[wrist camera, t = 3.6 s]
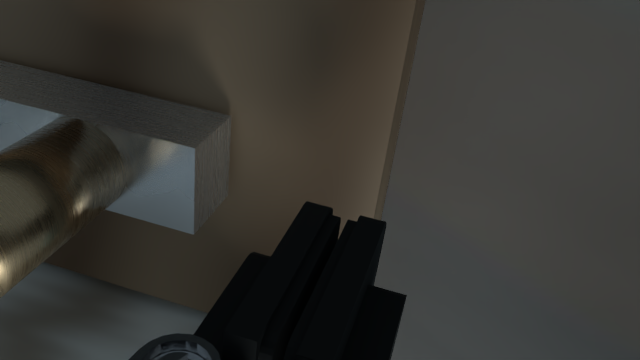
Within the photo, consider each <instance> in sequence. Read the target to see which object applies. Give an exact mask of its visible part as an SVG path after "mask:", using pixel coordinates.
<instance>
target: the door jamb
mask: <svg viewBox="0 0 640 360" xmlns="http://www.w3.org/2000/svg"><path fill="white" fill-rule="evenodd" d="M424 4H425V0H0V60H1V61H5V62H10V63H14V64H18V65H22V66H26V67H30V68H35V69H39V70H43V71H47V72H51V73H55V74H59V75H64V76H68V77H72V78H76V79H80V80H84V81H89V82H93V83H97V84H101V85H105V86H109V87H114V88H118V89H122V90H126V91H130V92H134V93H139V94H143V95H147V96H151V97H155V98H159V99H163V100H168V101H172V102H176V103H180V104H184V105H188V106H193V107H197V108H201V109H205V110H209V111H213V112H218V113H222V114H226V115H230V116H231V136H230V158H229V179H228V196H227V197H226V198H225V200H224V201H223V202H222V203H221V204H220V205H219V206H218V208H217V209H216V210H215V211H214V212H213V213H212V214H211V216H210V217H209V218H208V219H207V220H206V221H205V222H204V224H203V225H202V226H201V227H200V228H199V229H198V231H197V232H196V233H195V234H194V235H193V234H189V233H186V232H182V231H179V230H175V229H172V228H168V227H165V226H161V225H158V224H154V223H151V222H147V221H144V220H140V219H137V218H133V217H130V216H126V215H123V214H119V213H116V212H112V211H109V210H104V211H103V212H102V213H100V214H99V215H98V216H97V217H96V218H95V219H93V220H92V221H91V222H90V223H89V224H87V225H86V226H85V227H84V228H83V229H82V230H80V231H79V232H78V233H77V234H76V235H74V236H73V237H72V238H71V239H70V240H69V241H67V242H66V243H65V244H64V245H63V246H61V247H60V248H59V249H58V250H57V251H56V252H54V253H53V254H52V255H51V256H50V257H48V258H47V259H46V260H45V261H44V262H43V263H41V264H40V265H39V266H38V267H37V268H35V269H34V270H33V271H32V272H31V273H30V274H28V275H27V276H26V277H25V278H24V279H23V280H21V281H20V282H19V283H18V284H17V285H15V286H14V287H13V288H12V289H11V290H10V291H8V292H7V293H6V294H5V295H4V296H2V297H1V298H0V360H129V359H130V358H131V357H132V356H133V355H134V354H135V353H136V352H137V351H138V350H139V349H140V348H141V347H143V346H144V345H145V344H147V343H148V342H149V341H151V340H153V339H156V338H158V337H161V336H163V335H169V334H176V333H180V334H192V335H193V334H194V333H195V331H196V330H197V329H198V327H199V326H200V324H201V323H202V321H203V320H204V318H205V317H206V316H207V314H208V313H209V311H210V310H211V308H212V307H213V305H214V304H215V303H216V301H217V300H218V298H219V297H220V295H221V294H222V292H223V291H224V289H225V288H226V287H227V285H228V284H229V282H230V281H231V279H232V278H233V276H234V275H235V274H236V272H237V271H238V269H239V268H240V266H241V265H242V263H243V262H244V261H245V259H246V258H247V256H248V255H249V254H250V253H252V252H257V253H260V254H264V255H267V256H271V255H272V254H273V252H274V251H275V249H276V247H277V246H278V244H279V243H280V241H281V240H282V238H283V236H284V235H285V233H286V232H287V230H288V228H289V227H290V225H291V224H292V222H293V221H294V219H295V217H296V216H297V214H298V213H299V211H300V210H301V208H302V206H303V205H304V203H305V202H306V201H309V202H312V203H316V204H320V205H324V206H328V207H331V208H333V215H334V216H338V217H340V218H341V223H340V229H339V236H338V239H339V237H340V235H341V232H342V230H343V228H344V226H345V224H346V222H347V220H348V219H349V220H353V221H357V220H358V218H359V216H360V215H362V216H365V217H369V218H373V219H377V220H381V217H382V212H383V207H384V202H385V197H386V192H387V187H388V182H389V177H390V172H391V167H392V162H393V157H394V152H395V147H396V143H397V138H398V133H399V128H400V123H401V118H402V113H403V108H404V103H405V98H406V93H407V88H408V83H409V78H410V73H411V69H412V64H413V59H414V54H415V49H416V44H417V39H418V34H419V29H420V24H421V19H422V14H423V9H424Z"/></svg>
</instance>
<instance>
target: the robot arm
mask: <svg viewBox="0 0 640 360" xmlns="http://www.w3.org/2000/svg"><path fill="white" fill-rule="evenodd" d="M340 223H341V218H340V217H338V216H334V215H333V208H331V207H328V206H324V205H320V204H316V203H312V202H309V201H306V202H305V203H304V205H303V206H302V208H301V210H300V211H299V213H298V214H297V216H296V217H295V219H294V221H293V222H292V224H291V225H290V227H289V228H288V230H287V232H286V233H285V235H284V236H283V238H282V240H281V241H280V243H279V244H278V246H277V247H276V249H275V251H274V252H273V254H272V255H271V256H267V255H264V254H260V253H257V252H252V253H250V254H249V255H248V256H247V258H246V259H245V261H244V262H243V263H242V265H241V266H240V268H239V269H238V271H237V272H236V274H235V275H234V276H233V278H232V279H231V281H230V282H229V284H228V285H227V287H226V288H225V289H224V291H223V292H222V294H221V295H220V297H219V298H218V300H217V301H216V303H215V304H214V305H213V307H212V308H211V310H210V311H209V313H208V314H207V316H206V317H205V318H204V320H203V321H202V323H201V324H200V326H199V327H198V329H197V330H196V331H195V333H194V334H193V335H192V334H180V333H176V334H169V335H163V336H161V337H158V338H156V339H153V340H151V341H149V342H148V343H147V344H145V345H144V346H143V347H141V348H140V349H139V350H138V351H137V352H136V353H135V354H134V355H133V356H132V357H131V358H130V359H129V360H390V359H391V356H392V352H393V348H394V344H395V340H396V336H397V332H398V328H399V324H400V320H401V316H402V312H403V308H404V304H405V300H406V296H407V295H403V294H400V293H396V292H393V291H389V290H386V289H382V288H379V287H375V286H374V282H375V277H376V272H377V268H378V263H379V258H380V253H381V248H382V244H383V239H384V234H385V229H386V222H384V221H381V220H377V219H373V218H369V217H365V216H362V215H360V216H359V218H358V220H357V221H353V220H349V219H348V220H347V222H346V224H345V226H344V228H343V230H342V232H341V235H340V237H339V239H338V236H339V229H340Z"/></svg>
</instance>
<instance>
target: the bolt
mask: <svg viewBox="0 0 640 360" xmlns="http://www.w3.org/2000/svg"><path fill="white" fill-rule="evenodd" d="M230 136H231V116H230V115H226V114H222V113H218V112H213V111H209V110H205V109H201V108H197V107H193V106H188V105H184V104H180V103H176V102H172V101H168V100H163V99H159V98H155V97H151V96H147V95H143V94H139V93H134V92H130V91H126V90H122V89H118V88H114V87H109V86H105V85H101V84H97V83H93V82H89V81H84V80H80V79H76V78H72V77H68V76H64V75H59V74H55V73H51V72H47V71H43V70H39V69H35V68H30V67H26V66H22V65H18V64H14V63H10V62H5V61H1V60H0V298H1V297H2V296H4V295H5V294H6V293H7V292H8V291H10V290H11V289H12V288H13V287H14V286H15V285H17V284H18V283H19V282H20V281H21V280H23V279H24V278H25V277H26V276H27V275H28V274H30V273H31V272H32V271H33V270H34V269H35V268H37V267H38V266H39V265H40V264H41V263H43V262H44V261H45V260H46V259H47V258H48V257H50V256H51V255H52V254H53V253H54V252H56V251H57V250H58V249H59V248H60V247H61V246H63V245H64V244H65V243H66V242H67V241H69V240H70V239H71V238H72V237H73V236H74V235H76V234H77V233H78V232H79V231H80V230H82V229H83V228H84V227H85V226H86V225H87V224H89V223H90V222H91V221H92V220H93V219H95V218H96V217H97V216H98V215H99V214H100V213H102V212H103V211H104V210H109V211H112V212H116V213H119V214H123V215H126V216H130V217H133V218H137V219H140V220H144V221H147V222H151V223H154V224H158V225H161V226H165V227H168V228H172V229H175V230H179V231H182V232H186V233H189V234H193V235H194V234H195V233H196V232H197V231H198V229H199V228H200V227H201V226H202V225H203V224H204V222H205V221H206V220H207V219H208V218H209V217H210V216H211V214H212V213H213V212H214V211H215V210H216V209H217V208H218V206H219V205H220V204H221V203H222V202H223V201H224V200H225V198H226V197H227V196H228V179H229V158H230Z"/></svg>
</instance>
